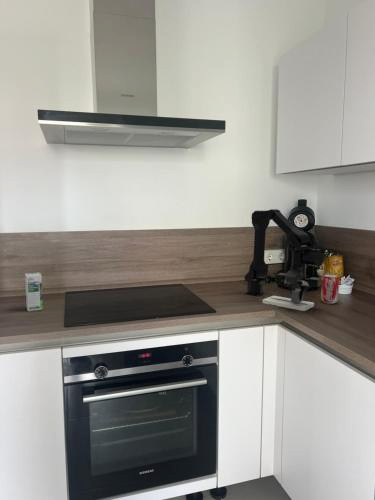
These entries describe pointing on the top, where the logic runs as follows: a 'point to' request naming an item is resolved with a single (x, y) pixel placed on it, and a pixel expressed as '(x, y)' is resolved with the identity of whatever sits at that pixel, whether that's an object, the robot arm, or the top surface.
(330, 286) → the soda can
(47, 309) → the top surface
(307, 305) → the fader panel
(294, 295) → the fader knob
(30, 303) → the syrup box
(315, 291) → the top surface
